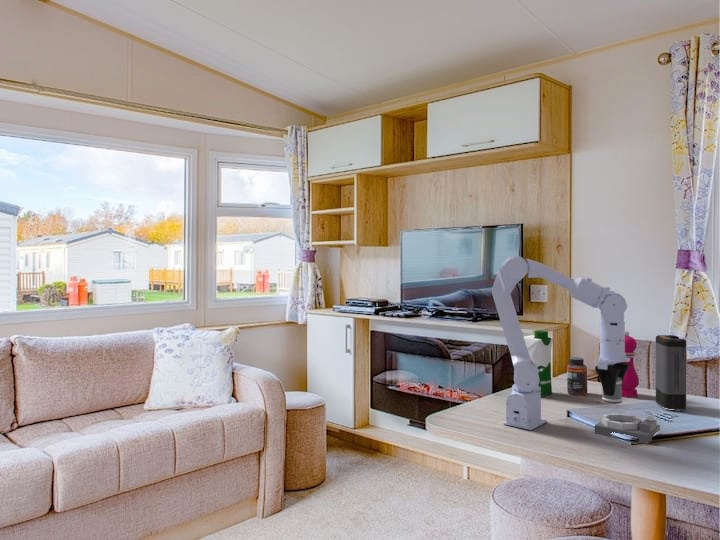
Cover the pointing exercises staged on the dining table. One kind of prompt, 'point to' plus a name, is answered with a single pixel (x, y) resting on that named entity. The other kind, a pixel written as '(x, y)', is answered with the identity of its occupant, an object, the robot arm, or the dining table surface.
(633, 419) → the grey base plate
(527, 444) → the dining table surface
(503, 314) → the robot arm
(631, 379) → the pepper mill
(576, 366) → the supplement bottle
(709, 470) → the dining table surface
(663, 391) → the electronic device
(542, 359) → the milk carton
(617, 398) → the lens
